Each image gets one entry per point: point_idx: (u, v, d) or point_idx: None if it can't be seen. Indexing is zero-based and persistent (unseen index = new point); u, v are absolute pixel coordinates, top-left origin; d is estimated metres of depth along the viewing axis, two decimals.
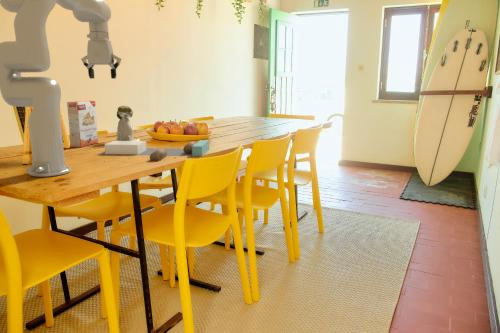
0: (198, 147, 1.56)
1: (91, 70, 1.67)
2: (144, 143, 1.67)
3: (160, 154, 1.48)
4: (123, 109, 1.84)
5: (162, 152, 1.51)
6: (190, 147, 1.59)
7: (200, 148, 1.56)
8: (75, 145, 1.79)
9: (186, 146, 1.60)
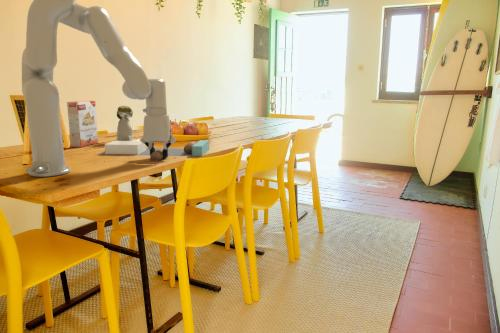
0: (198, 147, 1.56)
1: (153, 150, 1.51)
2: None
3: (160, 153, 1.48)
4: (123, 109, 1.84)
5: (162, 151, 1.51)
6: (191, 147, 1.59)
7: (200, 148, 1.56)
8: (75, 145, 1.79)
9: (187, 146, 1.60)
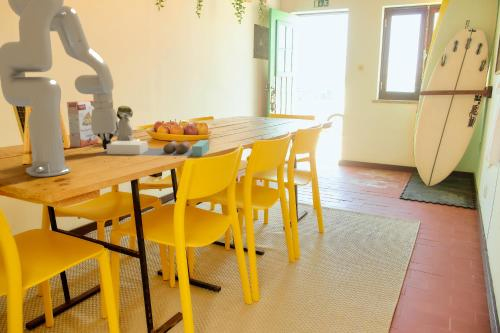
0: (198, 147, 1.56)
1: None
2: (146, 143, 1.67)
3: (172, 145, 1.62)
4: (123, 109, 1.84)
5: (174, 144, 1.65)
6: (178, 147, 1.60)
7: (200, 148, 1.56)
8: (75, 145, 1.79)
9: (177, 151, 1.60)
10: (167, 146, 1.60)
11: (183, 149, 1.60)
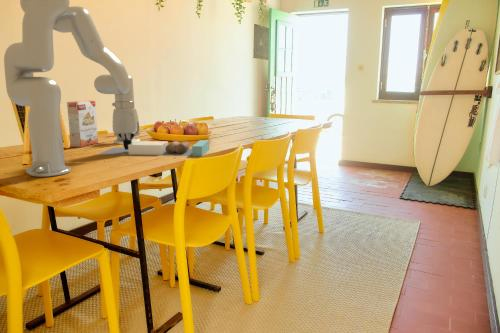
0: (198, 147, 1.56)
1: None
2: (166, 143, 1.66)
3: None
4: None
5: None
6: (177, 147, 1.60)
7: (200, 148, 1.56)
8: (75, 145, 1.79)
9: (177, 151, 1.60)
10: (170, 146, 1.60)
11: (182, 149, 1.60)
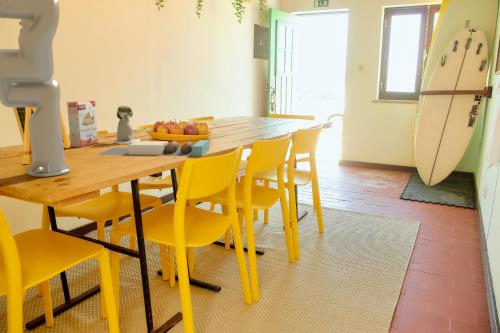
0: (198, 147, 1.56)
1: None
2: (167, 143, 1.66)
3: (174, 146, 1.62)
4: (123, 109, 1.84)
5: (175, 144, 1.65)
6: (185, 146, 1.60)
7: (200, 148, 1.56)
8: (75, 145, 1.79)
9: (181, 148, 1.60)
10: (168, 146, 1.60)
11: (186, 152, 1.60)
